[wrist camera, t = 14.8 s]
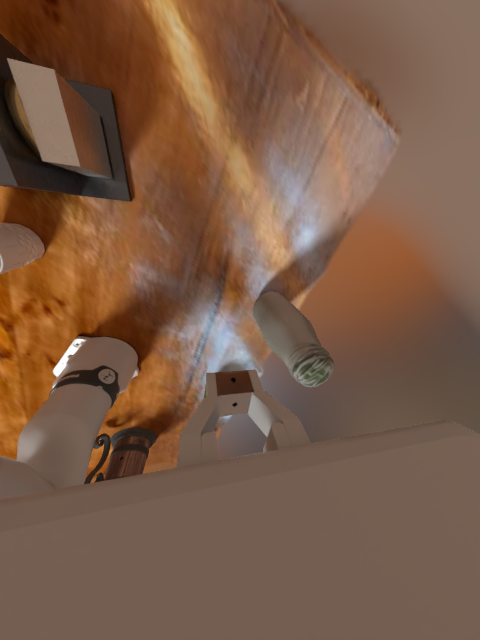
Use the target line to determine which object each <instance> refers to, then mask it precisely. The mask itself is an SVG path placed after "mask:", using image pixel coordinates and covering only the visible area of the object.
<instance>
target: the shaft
mask: <svg viewBox="0 0 480 640" xmlns="http://www.w3.org/2000/svg"><path fill="white" fill-rule="evenodd" d="M7 60H8V63H9V66H10V69H11V72H12V75H13V78H14V79H9V80H8V81H7V82H6V84H5V97H6V101H7V105H8V108H9V111H10V113H11V116H12V118H13V120H14V122H15V124H16V126H17V128H18V130H19V132H20V133H21V135H22V136H23V138H24V140H25V141H26V142H27V144H28V145H29V146H30V147H31V149H32V150H33V151H34V152H35V153H36V154H37V155H38V156H40V157H41V158H42V161H44V162H47V163H50V164H53V165H56V166H59V167H62V168H65V169H68V170H71V171H74V172H77V173H80V174H83V175H86V176H92V177H100V178H107V179H113V178H112V173H111V169H110V164H109V159H108V154H107V149H106V144H105V139H104V135H103V130H102V125H101V120H100V115H99V113H98V112H97V111H96V110H95V109H94V108H93V107H92V106H91V105H90V104H89V103H88V102H87V101H86V100H85V99H84V98H83V97H82V96H81V95H80V94H78V93H77V92H76V91H75V90H74V89H73V88H72V87H71V86H70V85H69V84H68V83H67V82H66V81H65V80H64V79H63V78H62V77H61V76H60V75H59V74H58V73H57V72H56V71H55V70H54V69H50V68H46V67H42V66H38V65H34V64H30V63H25V62H21V61H17V60H13V59H9V58H7Z"/></svg>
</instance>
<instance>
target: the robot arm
mask: <svg viewBox="0 0 480 640" xmlns="http://www.w3.org/2000/svg"><path fill="white" fill-rule="evenodd" d="M137 363H138V356H137V353H136V351H135V350H134V349H133V348H132V347H131V346H130V345H129V344H127V343H125V342H123V341H121V340H119V339H115V338H111V337H96V338H90V337H84V336H78V337H76V338H75V339H74V341H73V342H72V344H71V345H70V346H69V348H68V349H67V351H66V352H65V354H64V355H63V356H62V358H61V359H60V361H59V362H58V364H57V365H56V366H55V368H54V369H53V373H54V375H55V376H56V377H57V378H56V380H55V381H54V382H53V384H52V386H53V388H52V390H51V392H50V395H49V397H48V399H47V400H46V401H45V402H44V403H43V404H42V405H41V407H40V408H39V409H38V411H37V412H36V413H35V414H34V415H33V417H32V418H31V419H30V420H29V422H28V423H27V424H26V425H25V426H24V428H23V430H22V432H21V434H20V436H19V440H18V454H17V459H16V460H14V459H11V458H8V457H4V456H0V640H480V435H479V434H477V433H476V432H474V431H472V430H469V429H467V428H466V427H464V426H462V425H459V424H457V423H455V422H453V421H449V420H441V421H435V422H429V423H423V424H418V425H412V426H407V427H401V428H395V429H390V430H385V431H379V432H373V433H368V434H362V435H357V436H352V437H346V438H340V439H335V440H329V441H323V442H318V443H312V444H311V443H310V441H309V439H308V437H307V435H306V433H305V431H304V428H303V426H302V424H301V422H300V420H299V419H298V418H297V417H296V416H295V415H293V413H291V412H290V411H289V410H288V409H286V408H285V407H284V406H283V405H282V404H281V403H279V402H278V401H277V400H276V399H275V398H273V397H272V396H271V395H270V394H269V393H268V392H266V391H263V388H262V385H261V383H260V380H259V377H258V374H257V372H256V370H243V371H231V372H215V373H206V397H205V398H204V399H203V401H202V402H201V404H200V405H199V407H198V409H197V410H196V412H195V413H194V415H193V416H192V418H191V419H190V421H189V422H188V424H187V426H186V427H185V429H184V430H183V432H182V433H181V435H180V443H179V453H178V463H177V468H173V469H168V470H161V471H156V472H150V473H145V474H139V475H134V476H128V477H123V478H117V479H111V480H106V481H100V482H95V483H89V484H84V482H85V478H86V473H87V469H88V465H89V461H90V457H91V453H92V449H93V446H94V443H95V440H96V437H97V435H98V433H99V430H100V428H101V426H102V424H103V422H104V419H105V417H106V415H107V413H108V410H109V409H110V408H111V407H112V406H113V404H114V403H115V401H116V399H117V397H118V394H120V393H122V392H124V391H125V390H126V388H127V386H128V384H129V383H130V381H131V379H132V378H133V377H135V376H137V375H138V374H139V369H138V366H137ZM244 413H248V415H249V416H250V417H251V418H252V420H253V421H254V422H255V423H256V424H257V426H258V427H259V428H260V429H261V430H262V432H263V433H264V434H265V435H266V436H267V440H266V443H265V446H264V449H263V452H262V453H256V454H251V455H245V456H239V457H234V458H228V459H223V460H218V454H217V440H216V434H215V433H214V432H213V430H214V428H215V426H216V424H217V421H218V419H219V417H221V416H228V415H234V414H244Z"/></svg>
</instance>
